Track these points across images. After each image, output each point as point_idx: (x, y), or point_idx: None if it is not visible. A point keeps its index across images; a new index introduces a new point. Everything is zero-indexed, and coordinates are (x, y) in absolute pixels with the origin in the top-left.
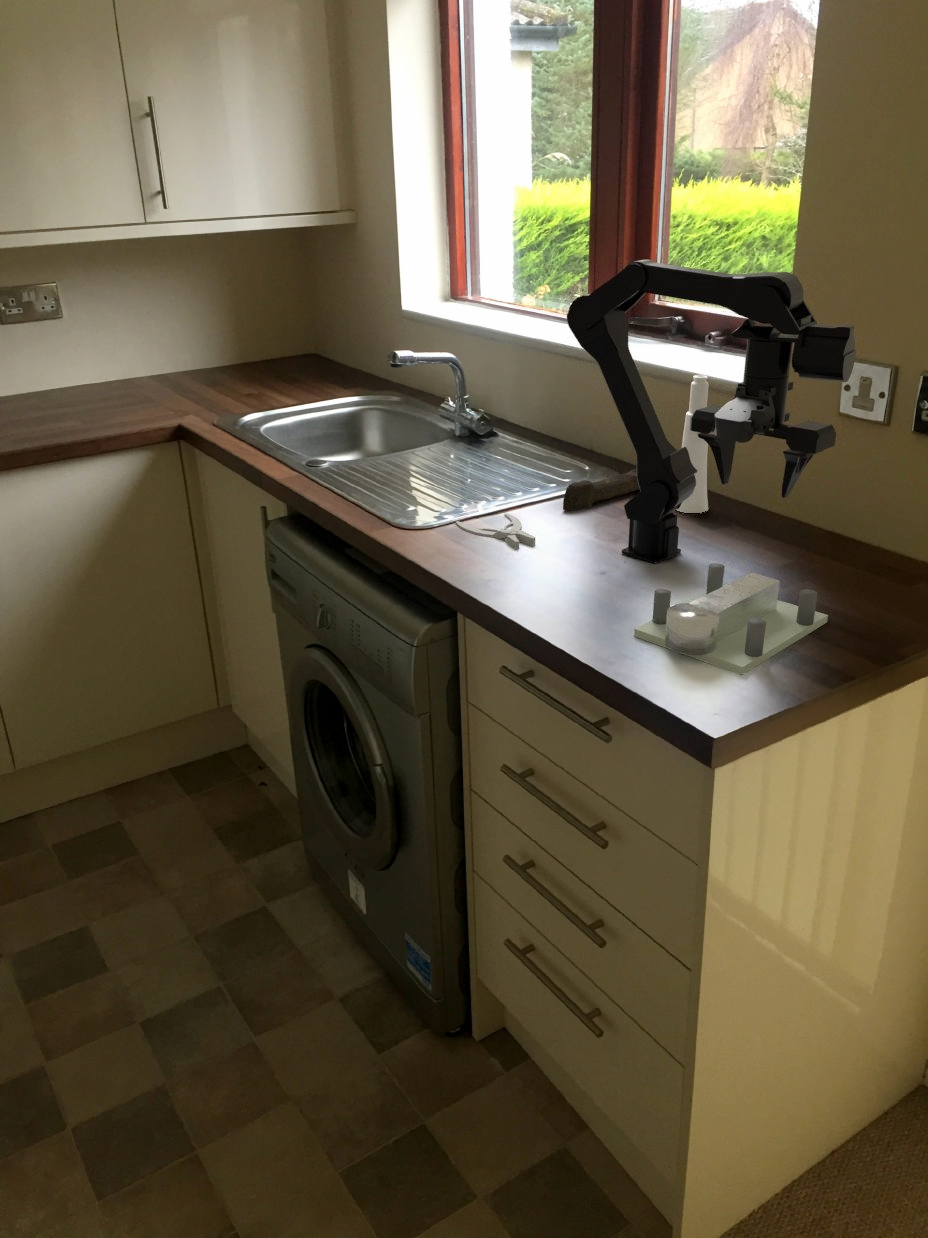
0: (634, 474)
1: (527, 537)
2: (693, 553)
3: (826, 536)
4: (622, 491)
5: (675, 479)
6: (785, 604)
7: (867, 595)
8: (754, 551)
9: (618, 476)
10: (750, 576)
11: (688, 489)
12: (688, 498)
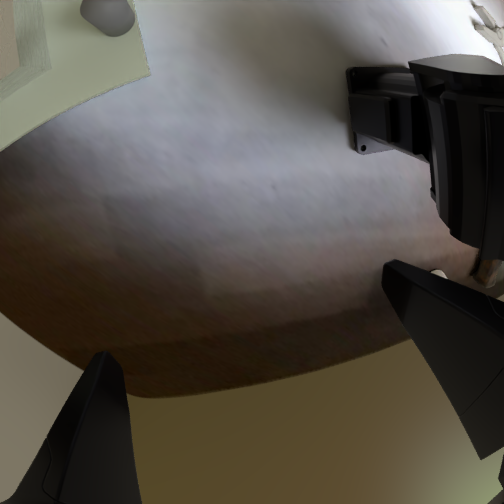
0: (492, 276)
1: (487, 28)
2: (341, 172)
3: (255, 373)
4: None
5: (501, 109)
6: (11, 130)
7: (42, 295)
8: (278, 270)
9: None
10: (7, 51)
11: (453, 183)
12: None
